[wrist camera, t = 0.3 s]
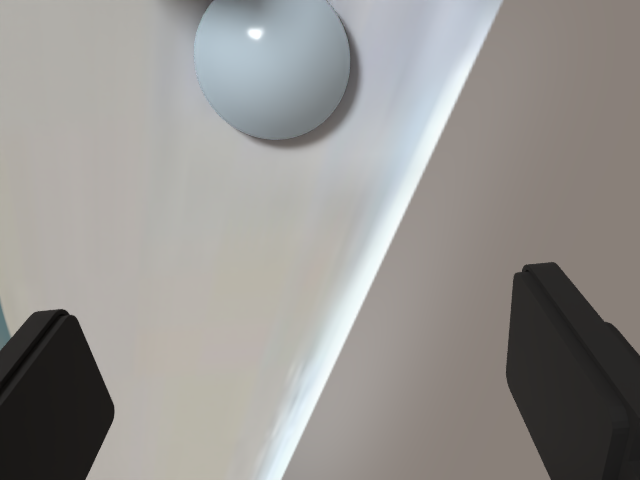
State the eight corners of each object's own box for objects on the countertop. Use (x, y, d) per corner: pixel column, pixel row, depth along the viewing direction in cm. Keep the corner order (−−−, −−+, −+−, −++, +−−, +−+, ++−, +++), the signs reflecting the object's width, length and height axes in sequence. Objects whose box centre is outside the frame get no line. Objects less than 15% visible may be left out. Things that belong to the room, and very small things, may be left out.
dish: (185, -21, 34) (180, -21, 32) (348, -29, 33) (348, -30, 32) (209, 138, 39) (206, 142, 38) (350, 132, 38) (351, 136, 37)
